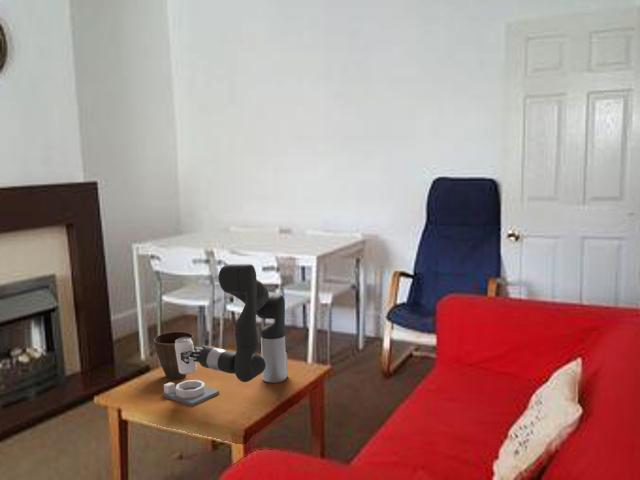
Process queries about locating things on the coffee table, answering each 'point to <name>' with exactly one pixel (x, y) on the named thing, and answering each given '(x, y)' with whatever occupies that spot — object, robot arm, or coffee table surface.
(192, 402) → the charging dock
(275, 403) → the coffee table surface
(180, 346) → the can
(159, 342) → the plant pot
